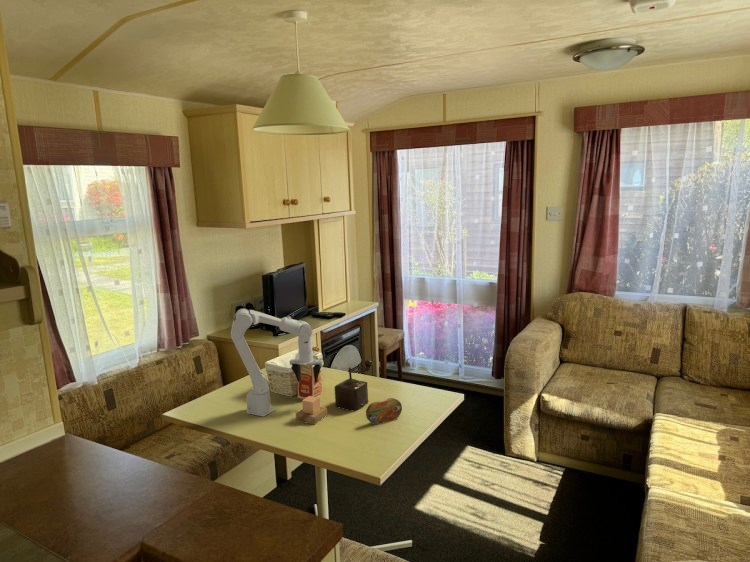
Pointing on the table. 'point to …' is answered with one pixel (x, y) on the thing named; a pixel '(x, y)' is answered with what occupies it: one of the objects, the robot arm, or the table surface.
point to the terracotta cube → (311, 404)
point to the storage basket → (284, 373)
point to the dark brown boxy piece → (352, 391)
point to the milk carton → (309, 382)
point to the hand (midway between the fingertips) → (307, 381)
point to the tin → (383, 410)
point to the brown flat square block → (311, 416)
